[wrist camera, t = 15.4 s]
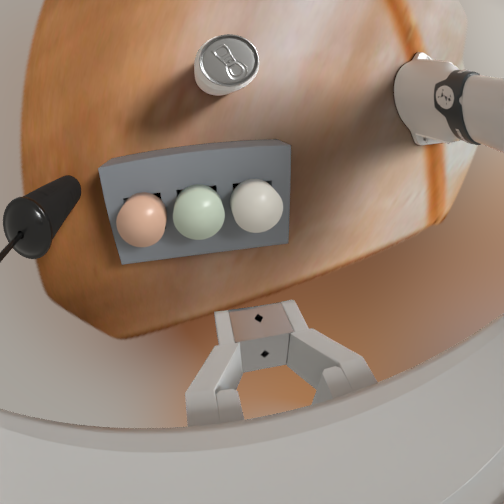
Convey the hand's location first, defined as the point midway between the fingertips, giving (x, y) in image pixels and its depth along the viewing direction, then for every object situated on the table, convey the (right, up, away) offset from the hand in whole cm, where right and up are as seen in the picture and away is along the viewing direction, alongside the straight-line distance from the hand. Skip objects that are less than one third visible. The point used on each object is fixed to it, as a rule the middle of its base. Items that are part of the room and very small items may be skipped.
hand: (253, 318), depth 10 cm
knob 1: (-15, +10, +27) cm, 32 cm away
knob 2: (-1, +12, +29) cm, 31 cm away
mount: (-8, +11, +28) cm, 32 cm away
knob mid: (-8, +11, +28) cm, 31 cm away
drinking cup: (-28, +12, +23) cm, 38 cm away
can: (-5, +26, +20) cm, 34 cm away
